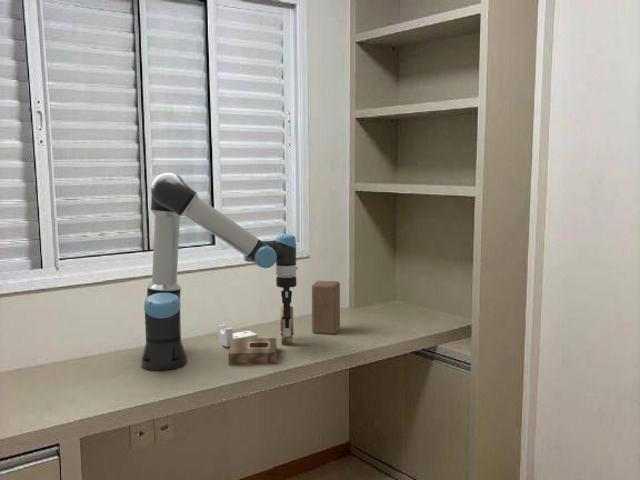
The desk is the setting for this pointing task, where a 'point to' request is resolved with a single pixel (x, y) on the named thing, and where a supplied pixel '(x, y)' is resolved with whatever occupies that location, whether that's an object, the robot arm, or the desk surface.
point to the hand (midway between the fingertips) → (287, 331)
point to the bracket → (232, 335)
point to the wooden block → (326, 307)
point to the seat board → (252, 351)
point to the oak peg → (285, 340)
